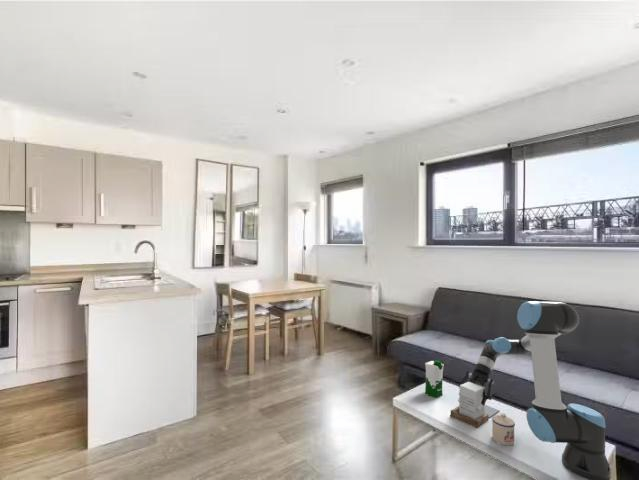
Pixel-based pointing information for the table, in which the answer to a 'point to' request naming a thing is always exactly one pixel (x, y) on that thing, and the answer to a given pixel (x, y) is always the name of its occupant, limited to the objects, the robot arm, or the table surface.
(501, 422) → the teacup with lid
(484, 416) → the walnut cradle
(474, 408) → the supplement box
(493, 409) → the slate mat
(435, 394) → the milk carton
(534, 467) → the table surface
